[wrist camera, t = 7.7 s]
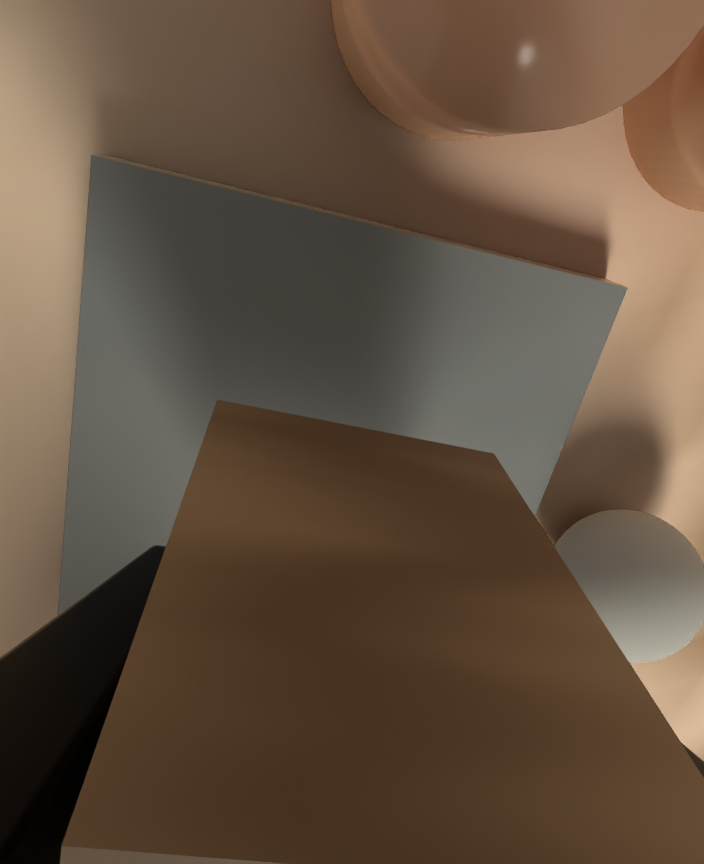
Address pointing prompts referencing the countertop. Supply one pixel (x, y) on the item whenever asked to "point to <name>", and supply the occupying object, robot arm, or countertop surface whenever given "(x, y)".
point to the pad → (298, 345)
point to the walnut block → (374, 675)
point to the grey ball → (638, 580)
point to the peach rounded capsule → (672, 129)
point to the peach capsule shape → (508, 59)
